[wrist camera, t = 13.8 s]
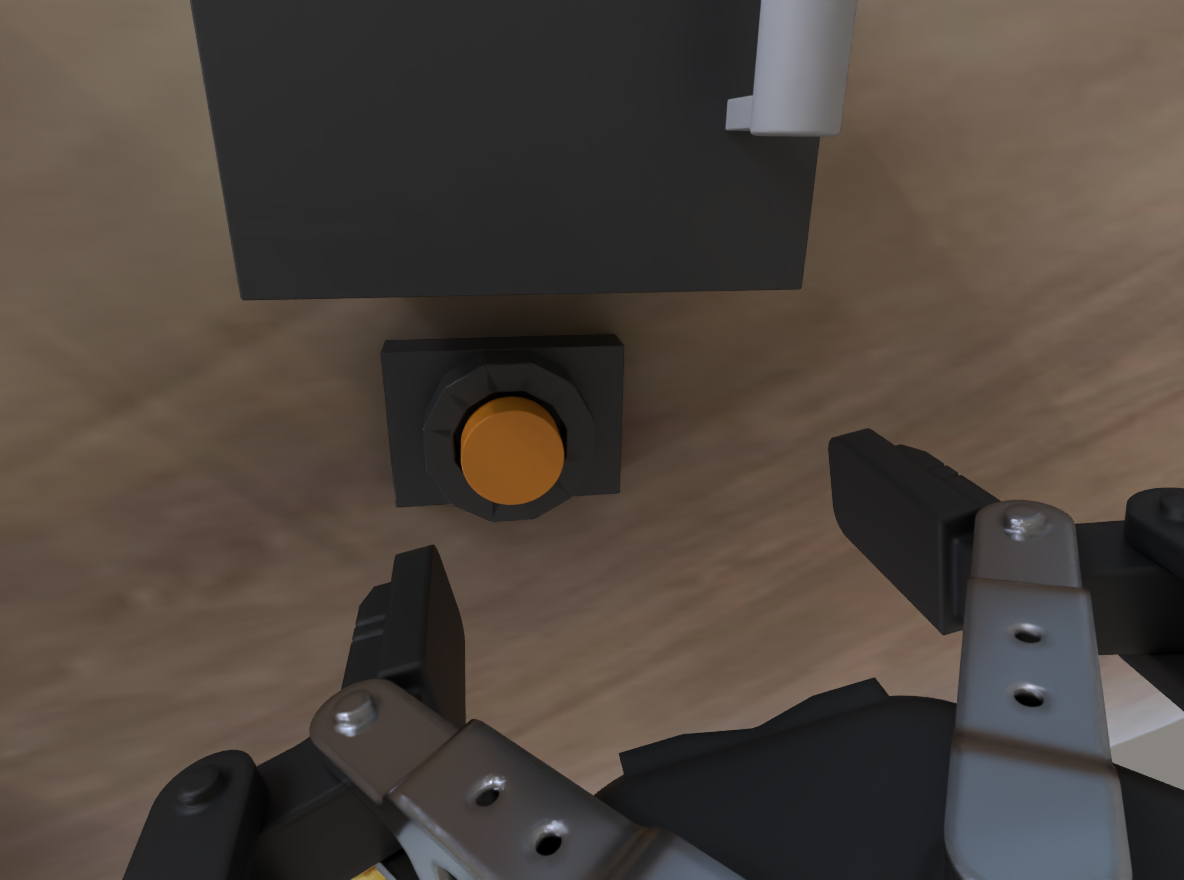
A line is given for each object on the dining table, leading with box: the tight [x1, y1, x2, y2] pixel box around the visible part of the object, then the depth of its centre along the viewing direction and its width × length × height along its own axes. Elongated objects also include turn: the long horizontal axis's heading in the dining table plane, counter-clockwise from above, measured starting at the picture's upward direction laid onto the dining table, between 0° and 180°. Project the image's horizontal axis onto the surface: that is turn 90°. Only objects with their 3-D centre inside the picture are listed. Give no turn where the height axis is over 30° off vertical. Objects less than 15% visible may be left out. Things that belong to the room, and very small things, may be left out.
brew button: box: [461, 396, 564, 505], centre depth 29 cm, size 4×4×2 cm
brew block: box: [381, 334, 624, 522], centre depth 31 cm, size 10×7×4 cm
